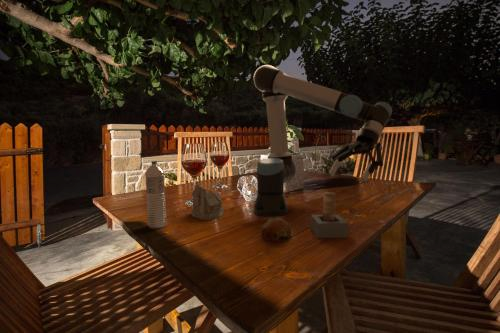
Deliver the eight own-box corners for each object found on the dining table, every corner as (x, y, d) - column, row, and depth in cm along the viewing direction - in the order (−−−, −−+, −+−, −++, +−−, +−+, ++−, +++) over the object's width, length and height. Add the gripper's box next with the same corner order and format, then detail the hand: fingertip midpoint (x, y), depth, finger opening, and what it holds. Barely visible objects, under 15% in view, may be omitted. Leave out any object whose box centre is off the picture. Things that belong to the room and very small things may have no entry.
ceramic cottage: (202, 221, 113) (202, 184, 112) (185, 213, 126) (186, 180, 125) (235, 216, 122) (235, 182, 121) (216, 209, 135) (216, 178, 134)
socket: (317, 238, 94) (318, 223, 94) (310, 227, 104) (311, 214, 103) (347, 237, 94) (348, 223, 94) (337, 227, 104) (338, 214, 104)
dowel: (324, 234, 97) (325, 194, 96) (321, 230, 101) (322, 192, 100) (335, 234, 97) (337, 194, 96) (332, 230, 101) (333, 192, 100)
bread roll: (289, 243, 100) (287, 220, 102) (294, 241, 90) (292, 216, 92) (261, 243, 99) (260, 220, 102) (263, 242, 90) (262, 216, 92)
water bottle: (160, 222, 113) (157, 160, 110) (170, 225, 109) (167, 161, 105) (144, 226, 108) (140, 161, 105) (154, 230, 103) (150, 162, 100)
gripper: (405, 142, 103) (383, 188, 96) (344, 140, 123) (322, 178, 115) (399, 128, 99) (376, 174, 92) (338, 128, 118) (314, 166, 111)
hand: (346, 176), depth 104 cm, fingers open, 13 cm apart
